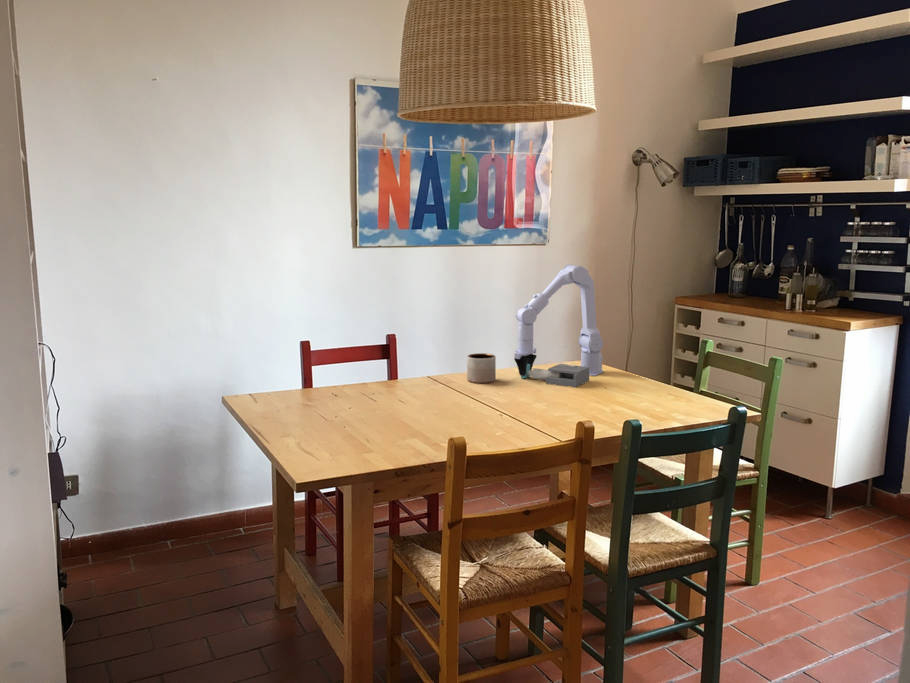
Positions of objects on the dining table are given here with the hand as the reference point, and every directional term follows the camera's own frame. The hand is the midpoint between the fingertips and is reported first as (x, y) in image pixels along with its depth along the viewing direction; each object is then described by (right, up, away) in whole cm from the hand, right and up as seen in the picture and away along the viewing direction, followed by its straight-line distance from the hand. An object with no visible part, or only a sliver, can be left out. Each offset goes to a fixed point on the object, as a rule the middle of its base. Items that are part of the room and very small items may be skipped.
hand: (525, 374), depth 305 cm
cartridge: (+6, -2, -3) cm, 7 cm away
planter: (-17, -2, -4) cm, 18 cm away
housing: (+15, -3, -8) cm, 17 cm away
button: (+17, +1, -5) cm, 18 cm away
